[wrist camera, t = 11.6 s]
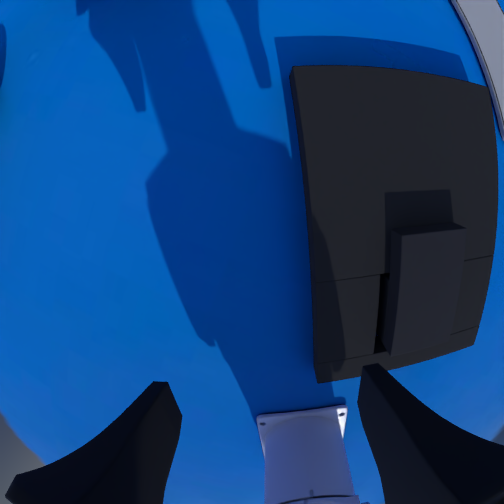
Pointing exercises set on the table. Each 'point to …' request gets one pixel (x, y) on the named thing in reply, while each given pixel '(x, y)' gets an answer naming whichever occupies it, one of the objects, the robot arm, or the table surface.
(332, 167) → the base pad
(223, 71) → the table surface
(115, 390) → the table surface
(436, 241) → the pad
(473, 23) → the smartphone
